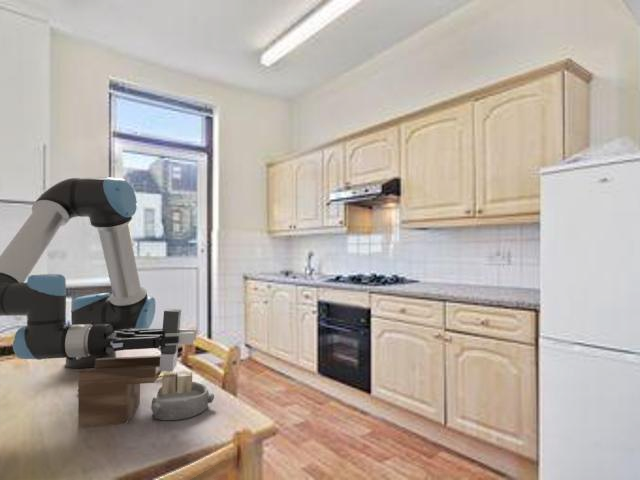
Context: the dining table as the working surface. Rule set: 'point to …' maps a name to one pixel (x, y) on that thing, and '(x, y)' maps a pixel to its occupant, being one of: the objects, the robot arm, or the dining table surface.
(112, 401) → the slot board
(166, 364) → the dark gray upright block
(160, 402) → the dish
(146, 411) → the dining table surface
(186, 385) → the cream square block
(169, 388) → the cream block
